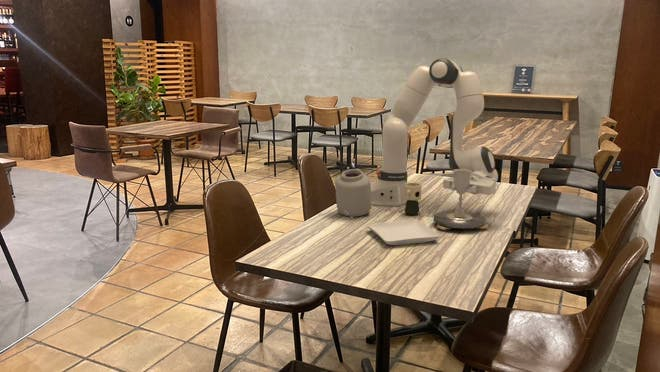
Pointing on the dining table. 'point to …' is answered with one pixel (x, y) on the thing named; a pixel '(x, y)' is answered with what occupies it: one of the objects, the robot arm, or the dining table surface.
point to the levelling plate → (459, 220)
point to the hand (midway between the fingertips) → (460, 189)
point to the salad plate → (403, 232)
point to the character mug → (412, 197)
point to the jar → (353, 193)
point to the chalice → (461, 187)
